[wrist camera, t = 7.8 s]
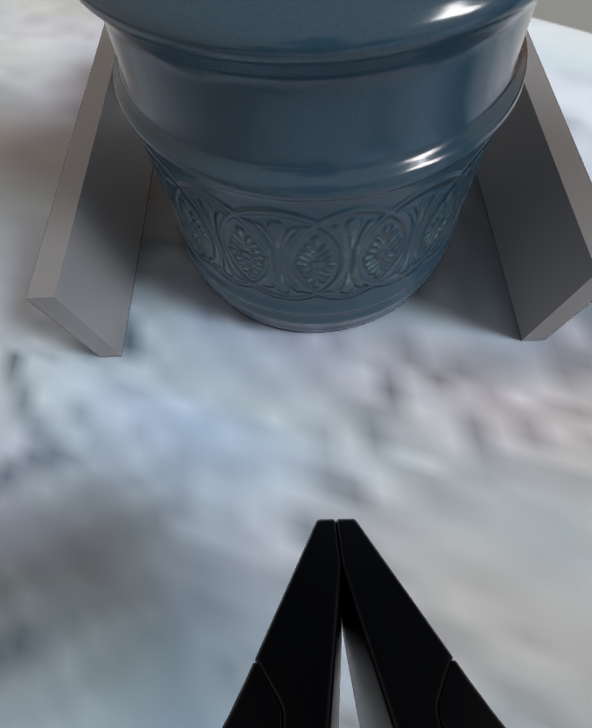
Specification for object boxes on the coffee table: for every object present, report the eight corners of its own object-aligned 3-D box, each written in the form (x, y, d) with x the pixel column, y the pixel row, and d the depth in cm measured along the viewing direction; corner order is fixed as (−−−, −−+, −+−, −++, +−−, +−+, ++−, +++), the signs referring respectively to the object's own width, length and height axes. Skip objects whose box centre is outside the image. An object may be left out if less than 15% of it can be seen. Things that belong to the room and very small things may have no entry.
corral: (544, 339, 17) (628, 271, 13) (100, 357, 18) (25, 298, 13) (461, 58, 25) (494, -48, 20) (153, 78, 26) (117, -20, 21)
